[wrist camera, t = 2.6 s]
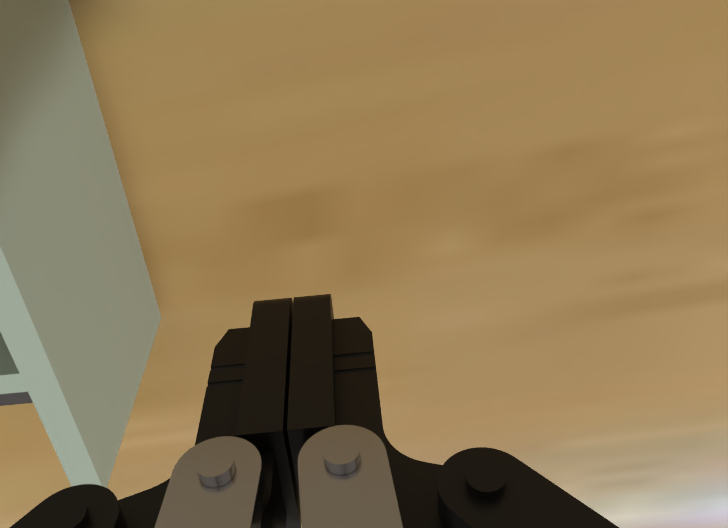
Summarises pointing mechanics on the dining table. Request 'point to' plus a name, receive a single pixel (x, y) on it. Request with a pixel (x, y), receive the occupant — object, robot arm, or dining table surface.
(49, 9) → the crate
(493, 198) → the dining table surface
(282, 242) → the dining table surface
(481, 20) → the dining table surface
